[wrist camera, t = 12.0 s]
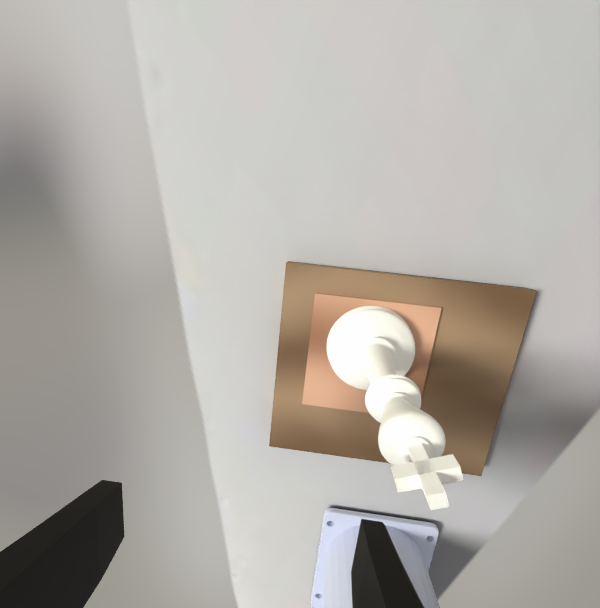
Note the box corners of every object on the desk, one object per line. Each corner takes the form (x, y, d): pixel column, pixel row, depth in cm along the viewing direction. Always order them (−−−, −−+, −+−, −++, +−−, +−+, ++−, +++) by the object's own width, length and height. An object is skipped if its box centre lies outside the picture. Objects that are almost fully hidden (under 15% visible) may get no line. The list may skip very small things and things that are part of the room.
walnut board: (472, 463, 19) (482, 478, 18) (271, 435, 20) (268, 448, 19) (523, 287, 16) (539, 291, 15) (288, 261, 17) (285, 263, 16)
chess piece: (421, 374, 17) (560, 564, 7) (339, 393, 17) (362, 592, 8) (402, 294, 16) (533, 386, 6) (316, 318, 16) (309, 435, 7)
